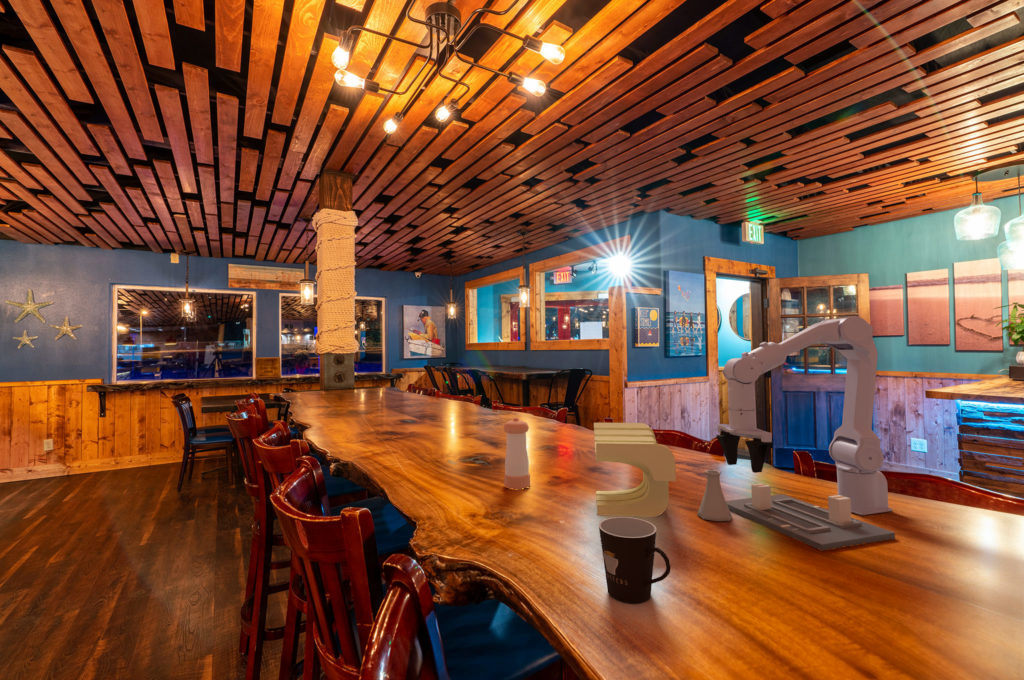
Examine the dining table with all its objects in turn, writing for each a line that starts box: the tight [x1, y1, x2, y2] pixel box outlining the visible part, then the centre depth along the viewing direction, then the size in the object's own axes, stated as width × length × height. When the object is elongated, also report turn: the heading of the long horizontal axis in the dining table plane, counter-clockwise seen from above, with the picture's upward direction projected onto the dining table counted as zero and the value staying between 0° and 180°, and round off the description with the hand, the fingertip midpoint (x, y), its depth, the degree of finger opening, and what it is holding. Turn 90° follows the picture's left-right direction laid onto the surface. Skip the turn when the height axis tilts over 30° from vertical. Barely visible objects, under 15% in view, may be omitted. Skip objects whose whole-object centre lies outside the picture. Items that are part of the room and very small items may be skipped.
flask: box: [697, 469, 733, 522], centre depth 102 cm, size 7×7×10 cm
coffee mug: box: [598, 516, 672, 605], centre depth 69 cm, size 12×9×10 cm
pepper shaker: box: [503, 417, 531, 489], centre depth 129 cm, size 7×7×19 cm
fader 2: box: [827, 494, 852, 524], centre depth 94 cm, size 3×2×5 cm
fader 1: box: [751, 483, 772, 510], centre depth 103 cm, size 3×2×5 cm
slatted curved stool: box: [593, 422, 677, 518], centre depth 110 cm, size 30×16×18 cm, turn 171°
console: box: [726, 493, 896, 552], centre depth 99 cm, size 18×26×2 cm
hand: (744, 468), depth 107 cm, fingers open, 7 cm apart
